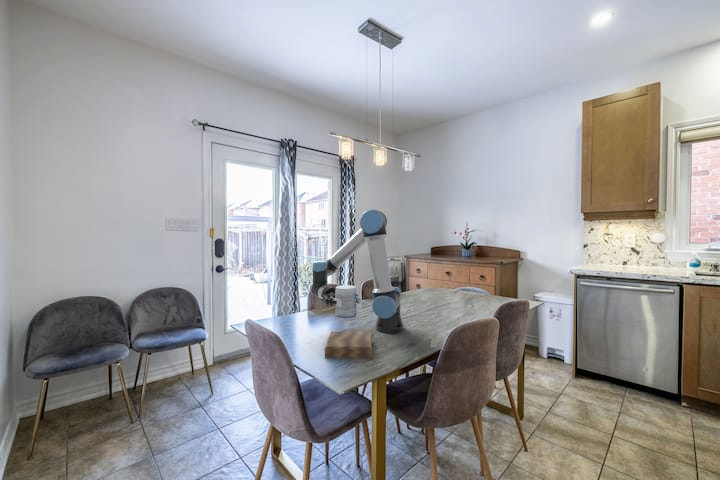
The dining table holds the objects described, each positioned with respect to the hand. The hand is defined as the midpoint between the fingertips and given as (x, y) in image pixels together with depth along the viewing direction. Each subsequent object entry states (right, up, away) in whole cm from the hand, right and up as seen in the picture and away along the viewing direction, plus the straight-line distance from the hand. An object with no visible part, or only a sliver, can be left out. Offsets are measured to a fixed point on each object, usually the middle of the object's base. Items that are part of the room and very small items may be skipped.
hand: (351, 302), depth 136 cm
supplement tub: (-2, -8, +4) cm, 10 cm away
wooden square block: (-1, -22, +3) cm, 22 cm away
